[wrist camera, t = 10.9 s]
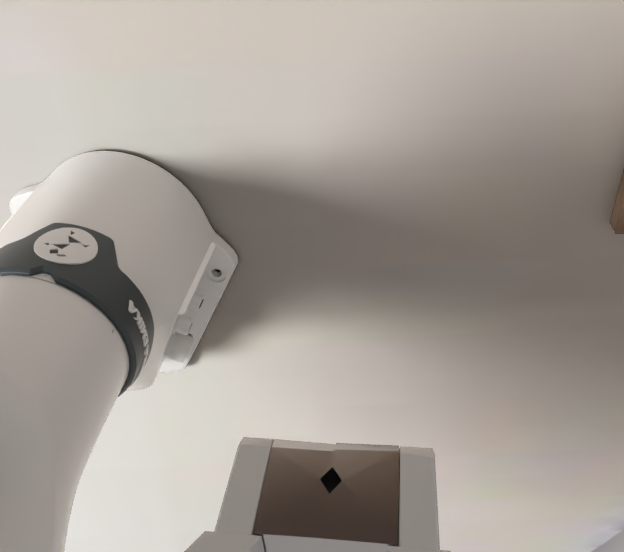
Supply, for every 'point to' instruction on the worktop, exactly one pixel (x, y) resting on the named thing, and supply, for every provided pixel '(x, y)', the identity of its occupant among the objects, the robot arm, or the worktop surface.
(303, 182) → the worktop surface
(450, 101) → the worktop surface
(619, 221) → the latch base
